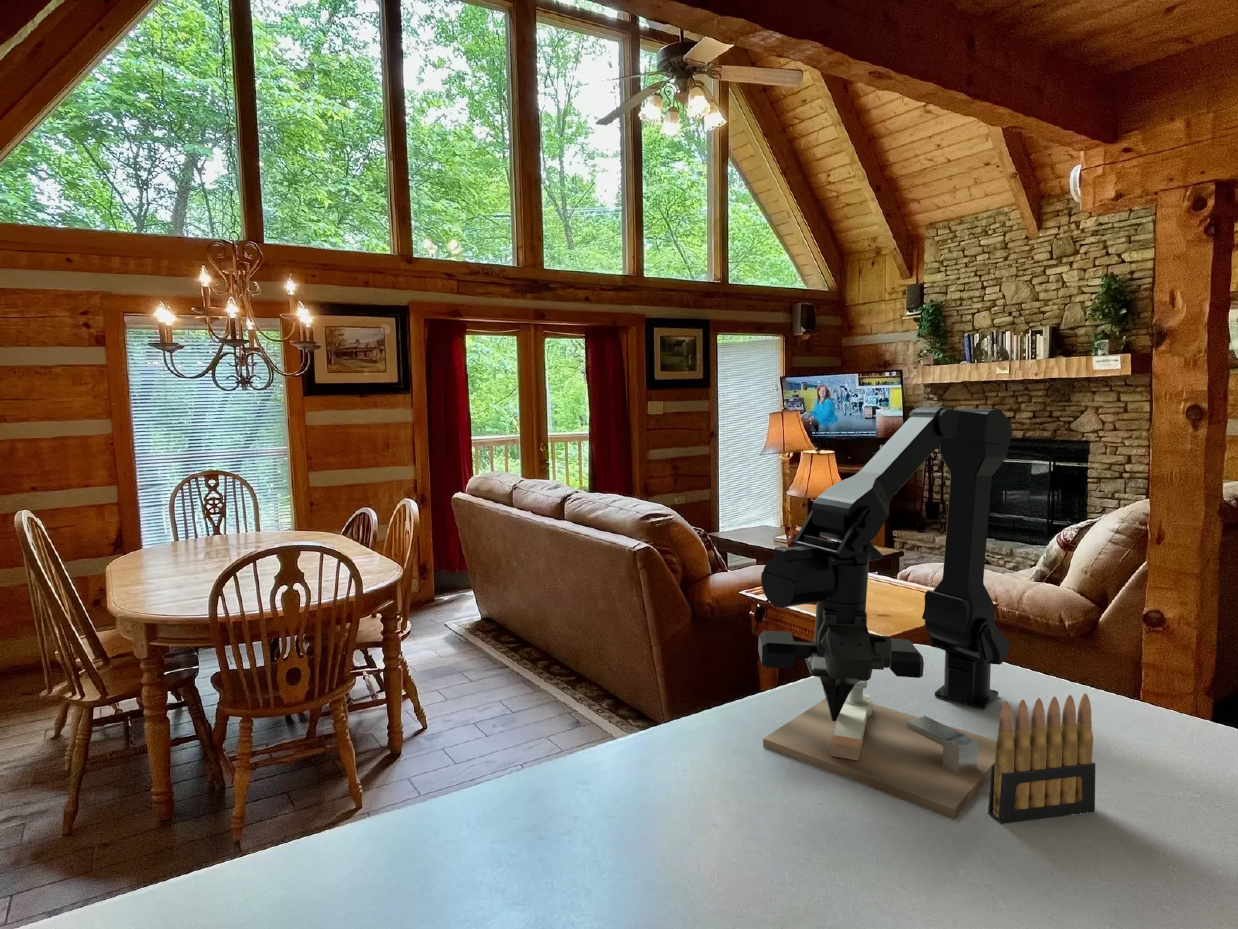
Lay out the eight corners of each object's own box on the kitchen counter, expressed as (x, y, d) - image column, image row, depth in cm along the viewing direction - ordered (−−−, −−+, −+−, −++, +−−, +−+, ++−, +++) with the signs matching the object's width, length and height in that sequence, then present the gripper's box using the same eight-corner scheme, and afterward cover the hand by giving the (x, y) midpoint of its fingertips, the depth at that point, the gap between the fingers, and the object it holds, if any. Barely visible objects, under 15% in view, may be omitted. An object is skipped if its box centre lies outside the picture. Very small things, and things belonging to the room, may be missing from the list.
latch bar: (841, 703, 96) (842, 672, 95) (873, 707, 94) (874, 677, 94) (826, 755, 82) (826, 720, 82) (863, 761, 80) (863, 726, 80)
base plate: (834, 699, 100) (834, 692, 99) (1009, 752, 84) (1009, 744, 84) (763, 746, 87) (763, 738, 86) (954, 818, 71) (954, 809, 71)
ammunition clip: (1080, 801, 74) (1086, 689, 73) (1095, 812, 72) (1101, 696, 71) (987, 813, 72) (991, 698, 71) (1000, 824, 70) (1004, 706, 69)
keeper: (924, 741, 85) (925, 715, 85) (977, 768, 79) (978, 741, 79) (906, 746, 84) (906, 721, 84) (958, 774, 78) (959, 747, 77)
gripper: (769, 613, 80) (762, 746, 82) (944, 623, 78) (933, 760, 80) (760, 585, 91) (754, 703, 93) (914, 594, 89) (904, 714, 91)
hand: (833, 720), depth 89 cm, fingers closed
